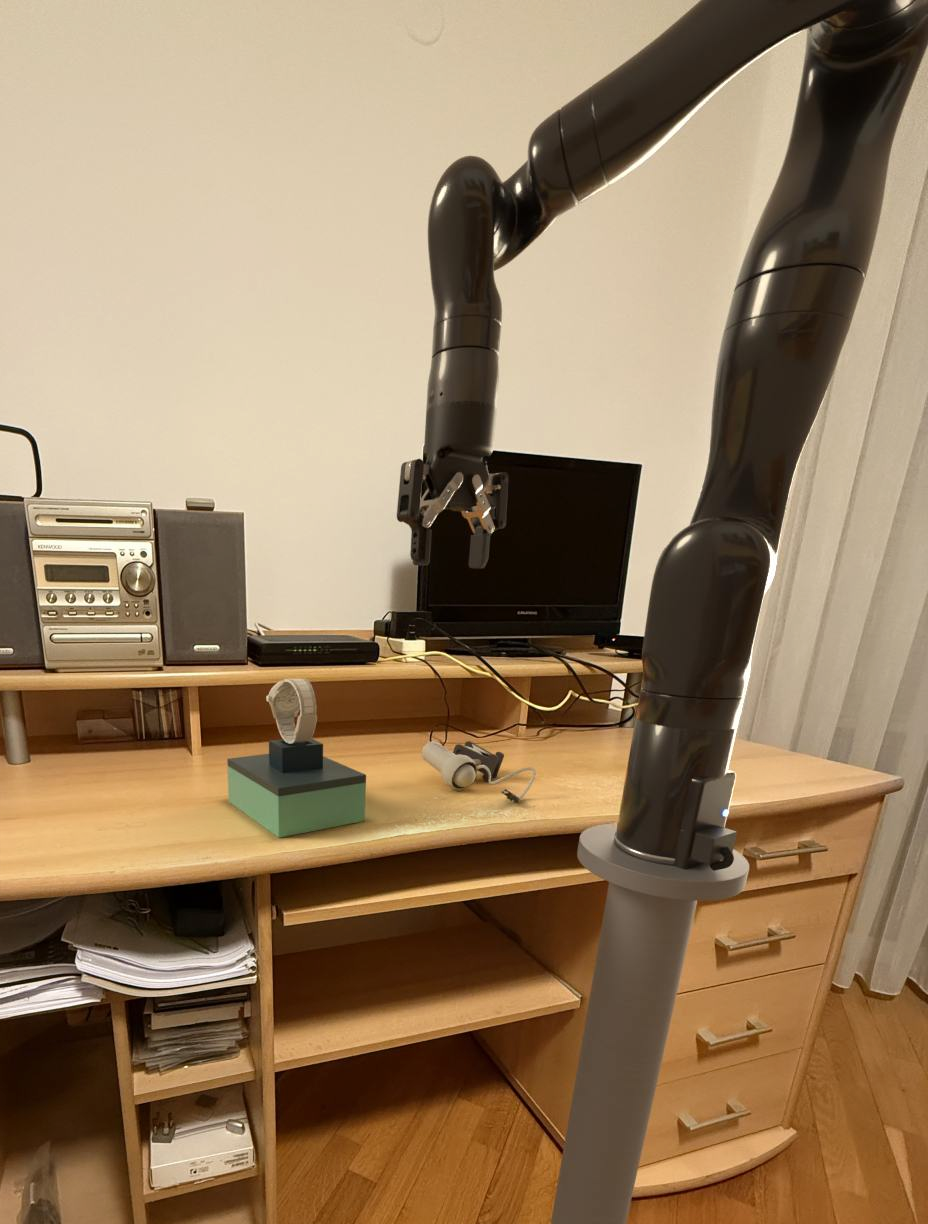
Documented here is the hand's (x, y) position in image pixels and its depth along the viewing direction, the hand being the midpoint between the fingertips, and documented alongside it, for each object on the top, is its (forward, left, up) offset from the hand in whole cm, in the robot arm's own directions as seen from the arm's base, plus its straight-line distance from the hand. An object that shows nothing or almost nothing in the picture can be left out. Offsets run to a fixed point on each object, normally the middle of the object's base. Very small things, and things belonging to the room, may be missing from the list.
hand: (449, 566), depth 74 cm
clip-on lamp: (+5, -13, -30) cm, 33 cm away
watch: (+9, +16, -24) cm, 30 cm away
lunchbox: (+9, +16, -30) cm, 35 cm away
